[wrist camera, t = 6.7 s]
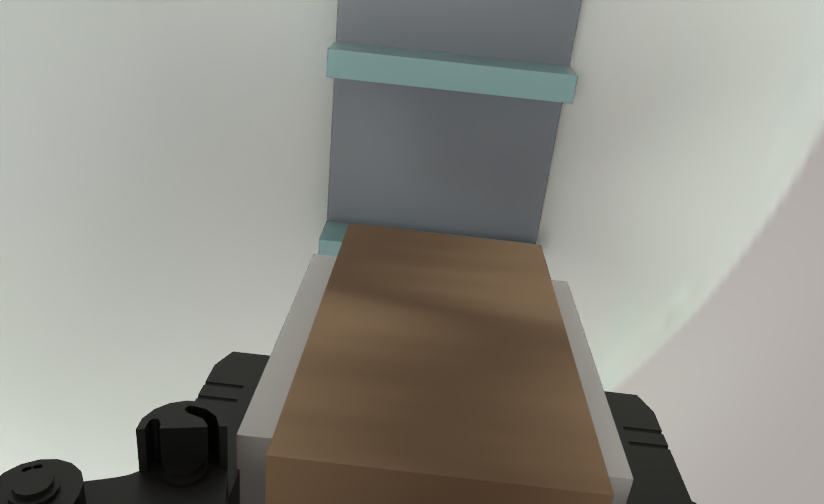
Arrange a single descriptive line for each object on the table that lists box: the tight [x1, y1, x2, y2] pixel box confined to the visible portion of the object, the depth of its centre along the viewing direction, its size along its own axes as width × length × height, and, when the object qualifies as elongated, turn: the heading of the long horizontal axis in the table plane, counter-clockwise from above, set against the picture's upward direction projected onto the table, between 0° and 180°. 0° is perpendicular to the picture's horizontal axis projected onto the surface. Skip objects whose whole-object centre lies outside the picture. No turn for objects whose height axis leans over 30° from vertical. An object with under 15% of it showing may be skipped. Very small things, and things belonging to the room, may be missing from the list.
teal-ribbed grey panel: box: [318, 0, 581, 256], centre depth 26 cm, size 9×16×3 cm, turn 174°
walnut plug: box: [265, 223, 614, 504], centre depth 14 cm, size 4×4×8 cm
